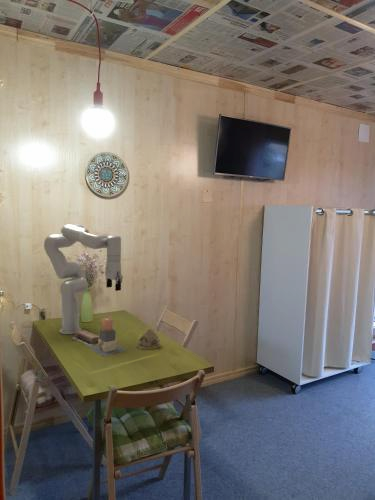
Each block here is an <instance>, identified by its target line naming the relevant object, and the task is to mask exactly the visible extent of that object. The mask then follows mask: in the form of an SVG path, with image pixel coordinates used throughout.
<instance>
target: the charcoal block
mask: <svg viewBox="0 0 375 500" xmlns="http://www.w3.org/2000/svg"><path fill="white" fill-rule="evenodd" d="M116 333H117V332H116V330H114V329H113V331H111V332H103V331H102V329H99V337H100V340H102V341H104V342H109V341H113V340H115V339H116Z"/></svg>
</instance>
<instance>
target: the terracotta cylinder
mask: <svg viewBox="0 0 375 500" xmlns="http://www.w3.org/2000/svg"><path fill="white" fill-rule="evenodd" d="M101 321H102V322H101V323H102V324H101V330H102V331H103V332H111V331H113V330H114V319H113V318H112V317H103V318H102V320H101Z"/></svg>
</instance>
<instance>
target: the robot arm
mask: <svg viewBox="0 0 375 500" xmlns="http://www.w3.org/2000/svg"><path fill="white" fill-rule="evenodd" d="M77 242H78V243H80V244H81V245H82V246H84V247H86V248H89V249H92V250H93V249H94V250H99V249H106V264H105V271H104V274H105V275H104V276H105V277H106V278H105V281H106V288H107V289H108V288H112V286H113V281H114V282H115V285H114V286H115V287H114V290H115V291H116V292H117V291H121V290H122V282H123V278H124V277H123V275H122V263H121V261H122V252H121V251H122V238H121V236H119V235H111V234H91V233H90V231H89V229H87V228H85V227H84V225H82V224H80V223H68V224H64V225H63V226H62V228H60V233H53V234H50V235H48V236H46V237H45V239H44V241H43V247H44V248H43V249H44V251H45V254H46V255H47V257H48V259H49V260H50V262H51V265H52V267H53V270H54V271H55V274H56V276H57V277H58V279H60V280H64V281H62V282H61V284H60V286H59V290H60V295H61V328H59V330H58V331H59V333H60V334H62V335H75V332H77V331H81V330H82V327H81V326H80V322H79V319H80V318H79V317H80V315H79V314H80V313H79V312H80V311H79V310H80V309H79V307H80V305H79V304H80V303H79V299H78V297H77V295H78V294H83V293H85V292H86V291H87V290H88V289H89V283H88V280H87V277H86V275H85V273H84V270H83V268H82V266H81V265H80V264H79V263H78V262H76V261H68V260H67V259H66V256H65V254H64V253H63V252H62V251H61V250H60V249H62V248H69V247H72V246H73V245H75V244H76V243H77ZM65 279H66V280H65Z"/></svg>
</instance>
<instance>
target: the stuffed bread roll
mask: <svg viewBox="0 0 375 500" xmlns="http://www.w3.org/2000/svg"><path fill="white" fill-rule="evenodd" d="M135 346H136V348H137V349H138V350H145V351H146V350H151V349H154V350H155V349H157V348H161V347H162V345H161V344H160V338H159V336H158V334H157V333H156V332H155V331H154V330H153V329H151V328H148V329H147V331H146V332H145V331H144V333H143V334H142V336H141V337H140V338H139V342H138V344H136V345H135Z"/></svg>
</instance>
